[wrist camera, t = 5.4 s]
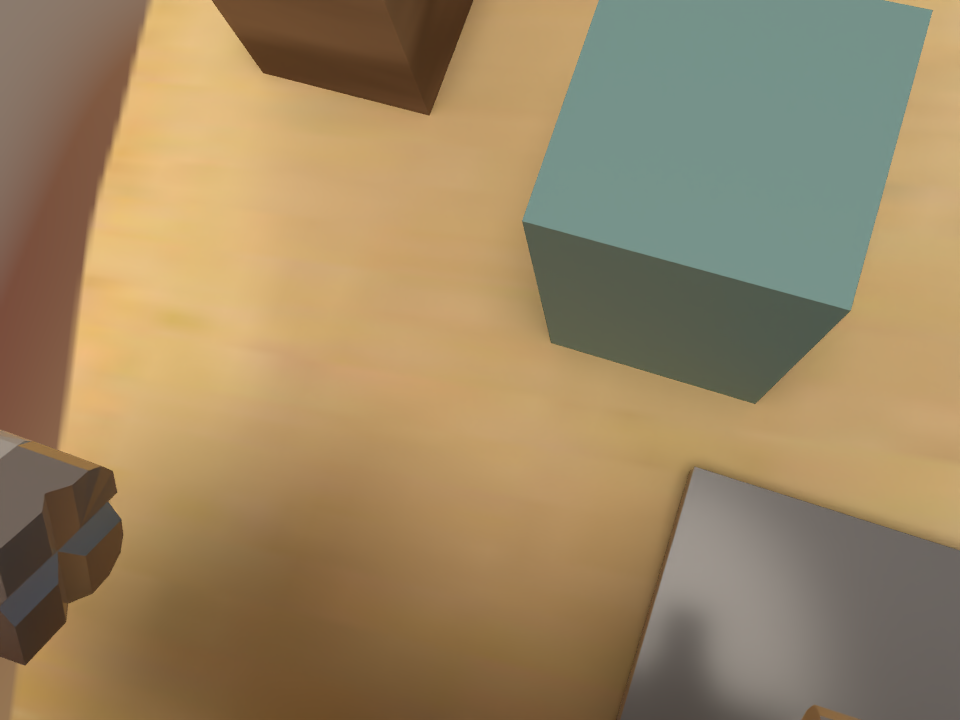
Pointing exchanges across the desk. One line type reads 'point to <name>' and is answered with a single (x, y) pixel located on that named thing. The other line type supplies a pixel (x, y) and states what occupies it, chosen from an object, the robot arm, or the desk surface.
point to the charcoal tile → (794, 615)
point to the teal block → (719, 181)
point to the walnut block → (354, 44)
